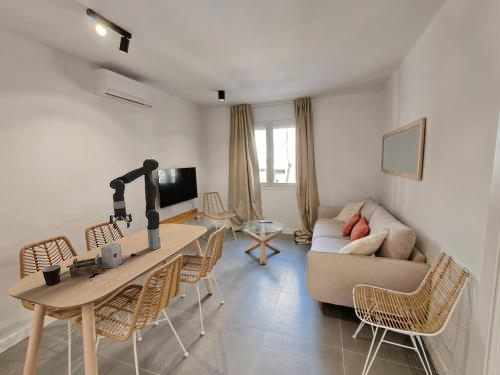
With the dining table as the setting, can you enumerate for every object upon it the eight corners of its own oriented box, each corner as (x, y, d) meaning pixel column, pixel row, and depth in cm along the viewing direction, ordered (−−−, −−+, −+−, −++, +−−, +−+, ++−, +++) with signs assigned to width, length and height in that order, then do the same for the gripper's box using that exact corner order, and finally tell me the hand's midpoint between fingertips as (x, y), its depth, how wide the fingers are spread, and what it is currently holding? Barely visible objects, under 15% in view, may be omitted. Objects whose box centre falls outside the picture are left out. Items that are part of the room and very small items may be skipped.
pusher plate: (100, 263, 158) (99, 253, 157) (98, 270, 149) (97, 259, 148) (69, 269, 150) (67, 258, 149) (65, 277, 141) (63, 265, 140)
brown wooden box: (106, 262, 162) (106, 253, 161) (104, 271, 149) (103, 261, 148) (75, 268, 153) (74, 258, 153) (70, 278, 140) (69, 267, 139)
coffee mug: (51, 279, 139) (49, 264, 137) (66, 279, 139) (64, 264, 138) (35, 290, 127) (33, 274, 126) (51, 289, 128) (49, 273, 127)
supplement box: (113, 268, 152) (111, 248, 150) (102, 267, 154) (100, 247, 152) (122, 262, 161) (121, 243, 159) (112, 261, 163) (110, 242, 161)
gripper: (131, 205, 164) (133, 226, 167) (110, 206, 162) (113, 227, 164) (128, 207, 157) (130, 229, 160) (106, 208, 154) (109, 230, 157)
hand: (121, 228), depth 162 cm, fingers open, 8 cm apart
